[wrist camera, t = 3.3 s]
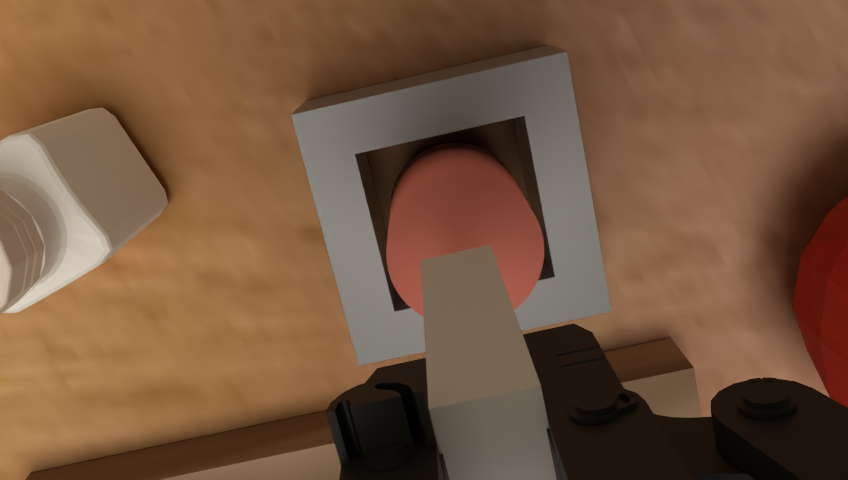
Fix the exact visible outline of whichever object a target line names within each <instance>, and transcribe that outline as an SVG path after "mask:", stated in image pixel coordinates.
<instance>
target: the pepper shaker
mask: <svg viewBox="0 0 848 480" xmlns="http://www.w3.org/2000/svg"><path fill="white" fill-rule="evenodd" d="M167 205H168V200H167V197H166V193H165V190H164V188H163V187H162V185H161V184H160V182H159V181H158V179H157V178H156V176H155V175H154V173H153V172H152V170H151V169H150V168H149V166H148V165H147V163H146V162H145V160H144V159H143V157H142V156H141V154H140V153H139V151H138V150H137V148H136V147H135V145H134V144H133V142H132V141H131V139H130V138H129V137H128V135H127V134H126V132H125V131H124V129H123V128H122V126H121V125H120V123H119V122H118V120H117V119H116V117H115V116H114V115H112V114H111V113H109V112H108V111H107V110H106V109H104V108H94V109H88V110H85V111H82V112H79V113H75V114H72V115H69V116H66V117H63V118H60V119H57V120H54V121H51V122H48V123H45V124H42V125H39V126H36V127H33V128H30V129H27V130H24V131H21V132H18V133H15V134H12V135H9V136H7V137H6V138H4V139H2V140H1V141H0V315H1V314H2V313H17V312H20V311H22V310H24V309H25V308H27V307H29V306H31V305H33V304H34V303H36V302H38V301H40V300H42V299H43V298H45V297H47V296H49V295H50V294H52V293H54V292H56V291H57V290H59V289H61V288H62V287H64V286H66V285H68V284H69V283H71V282H73V281H74V280H76V279H78V278H79V277H81V276H83V275H84V274H86V273H88V272H89V271H91V270H93V269H94V268H96V267H98V266H99V265H101V264H102V263H104V262H105V261H106V260H107V259H108V258H110V257H111V256H112V255H113V254H114V253H116V252H117V251H118V250H119V249H120V248H121V247H123V246H124V245H125V244H126V243H127V242H129V241H130V240H131V239H132V238H133V237H134V236H136V235H137V234H138V233H139V232H140V231H142V230H143V229H144V228H145V227H146V226H148V225H149V224H150V223H151V222H152V221H153V220H155V219H156V218H157V217H158V216H159V215H161V213H162V212H163V210H164V209H165V207H166V206H167Z"/></svg>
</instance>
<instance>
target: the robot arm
mask: <svg viewBox="0 0 848 480" xmlns="http://www.w3.org/2000/svg"><path fill="white" fill-rule="evenodd" d="M420 265H421V282H422V300H423V318H424V335H425V353H426V358H423V359H419V360H414V361H409V362H405V363H400V364H395V365H391V366H386V367H382V368H377V369H376V371H375V372H374V373H373V374H372V375H371V377H370V378H369V379H368V380H367V381H366V383H364V384H361V385H358V386H356V387H354V388H352V389H350V390H348V391H346V392H344V393H342V394H341V395H340V396H338V397H337V398H336V399H335V400H334V401H332V402H331V404H330V405H329V407H328V409H327V411H326V415H327V419H328V422H329V426H330V429H331V433H332V436H333V440H334V443H335V447H336V450H337V454H338V457H339V461H340V464H341V470H340V477H339V480H848V408H847V407H845V406H844V405H842V404H840V403H838V402H836V401H835V400H833V399H831V398H829V397H827V396H826V395H824V394H822V393H820V392H818V391H817V390H815V389H813V388H811V387H808V386H806V385H803V384H800V383H798V382H795V381H788V380H781V379H776V378H763V379H760V378H755V379H749V380H747V381H744V382H739V383H735V384H732V385H730V386H728V387H726V388H725V389H723V390H721V391H719V392H718V393H717V394H716V396H715V397H714V398H713V399H712V400H711V415H712V417H693V418H683V417H668V416H662V415H657V414H654V413H653V412H652V410H651V409H650V407H649V405H648V404H647V402H646V401H645V400H644V399H643V398H642V397H641V396H640V395H639V394H638V393H636V392H633V391H630V390H627V389H624V387H623V385H622V384H621V382H620V380H619V378H618V377H617V375H616V373H615V371H614V370H613V368H612V366H611V364H610V363H609V361H608V359H606V356H605V354H604V352H603V350H602V349H601V348H600V345H599V343H598V342H597V340H596V338H595V337H594V335H593V333H592V332H590V331H588V330H586V329H584V328H582V327H580V326H578V325H576V324H570V325H565V326H561V327H556V328H551V329H547V330H542V331H537V332H533V333H528V334H524V335H523V334H522V331H521V329H520V326H519V323H518V320H517V317H516V315H515V312H514V309H513V306H512V303H511V301H510V298H509V295H508V292H507V289H506V287H505V284H504V281H503V278H502V275H501V273H500V270H499V267H498V264H497V261H496V259H495V256H494V253H493V250H492V247H491V245H487V246H482V247H477V248H473V249H468V250H464V251H459V252H455V253H450V254H446V255H441V256H437V257H432V258H428V259H423V260H420Z"/></svg>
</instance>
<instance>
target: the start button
mask: <svg viewBox="0 0 848 480" xmlns="http://www.w3.org/2000/svg"><path fill="white" fill-rule="evenodd" d="M487 245H491V247H492V250H493V253H494V256H495V259H496V261H497V264H498V267H499V270H500V273H501V275H502V278H503V281H504V284H505V287H506V289H507V292H508V295H509V298H510V301H511V303H512V306H513V309H514V310H515V309H517V308H518V307H519V306H520V305H521V304H522V303H523V302H524V301H525V300H526V299H527V297H528V296H529V295H530V294H531V292H532V290H533V289H534V287H535V285H536V283H537V281H538V279H539V277H540V274H541V270H542V267H543V261H544V240H543V235H542V231H541V227H540V225H539V222H538V220H537V218H536V216H535V214H534V213H533V211H532V209H531V208H530V206H529V204H528V202H527V201H526V199H525V197H524V196H523V194H522V192H521V190H520V189H519V187H518V185H517V184H516V182H515V180H514V178H513V177H512V175H511V173H510V172H509V170H508V169H507V167H506V166H505V165H504V164H503V163H502V162H501V161H500V160H499V159H498V158H497V157H496V156H494V155H493V154H492V153H490V152H488V151H486V150H485V149H483V148H480V147H477V146H475V145H470V144H465V143H447V144H441V145H437V146H434V147H431V148H429V149H427V150H425V151H423V152H422V153H420V154H418V155H417V156H416V157H414V158H413V159H412V160H411V161H410V162H409V163H408V164H407V165H406V166H405V167H404V169H403V170H402V172H401V173H400V175H399V177H398V178H397V180H396V183H395V185H394V188H393V192H392V197H391V207H390V217H389V227H388V238H387V248H386V260H387V267H388V272H389V275H390V278H391V281H392V283H393V285H394V287H395V289H396V291H397V292H398V294H399V295H400V297H401V298H402V299H403V300H404V301H405V302H406V304H407V305H408V306H409V307H411V308H412V309H413V310H414V311H415V312H417V313H418V314H420V315H421V316H423V300H422V282H421V265H420V260H423V259H428V258H432V257H437V256H441V255H446V254H450V253H455V252H459V251H464V250H468V249H473V248H477V247H482V246H487Z"/></svg>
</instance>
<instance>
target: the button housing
mask: <svg viewBox="0 0 848 480" xmlns="http://www.w3.org/2000/svg"><path fill="white" fill-rule="evenodd" d="M291 117H292V121H293V125H294V128H295V132H296V136H297V139H298V143H299V147H300V150H301V154H302V158H303V162H304V165H305V169H306V173H307V176H308V180H309V184H310V187H311V191H312V195H313V198H314V202H315V206H316V210H317V213H318V217H319V221H320V224H321V228H322V232H323V235H324V239H325V243H326V247H327V250H328V254H329V258H330V261H331V265H332V269H333V272H334V276H335V280H336V284H337V287H338V291H339V295H340V298H341V302H342V306H343V309H344V313H345V317H346V320H347V324H348V328H349V332H350V335H351V339H352V343H353V346H354V350H355V354H356V357H357V361H358V365H359V366H360V365H364V364H369V363H374V362H378V361H383V360H388V359H392V358H397V357H402V356H406V355H411V354H416V353H420V352H425V335H424V318H423V316H421V315H420V314H418V313H417V312H415V311H414V310H413V309H412V308H411V307H409V306H408V305H407V304H406V302H405V301H404V300H403V299H402V298H401V297H400V295H399V294H398V292H397V291H396V289H395V287H394V285H393V283H392V281H391V278H390V275H389V272H388V267H387V260H386V248H387V235H386V231H385V227H384V223H383V219H382V215H381V211H380V207H379V203H378V199H377V195H376V191H375V186H374V182H373V178H372V174H371V170H370V166H369V162H368V158H367V154H366V152H367V151H371V150H375V149H380V148H384V147H389V146H393V145H398V144H402V143H406V142H411V141H415V140H420V139H424V138H428V137H433V136H437V135H442V134H446V133H451V132H455V131H459V130H464V129H468V128H473V127H477V126H482V125H486V124H490V123H495V122H499V121H504V120H508V119H512V118H513V119H514V124H515V129H516V134H517V140H518V145H519V150H520V155H521V160H522V165H523V170H524V176H525V181H526V186H527V191H528V196H529V201H530V207H531V209H532V211H533V213H534V214H535V216H536V218H537V220H538V222H539V225H540V227H541V231H542V235H543V240H544V261H543V267H542V270H541V274H540V277H539V279H538V281H537V283H536V285H535V287H534V289H533V290H532V292H531V294H530V295H529V296H528V297H527V299H526V300H525V301H524V302H523V303H522V304H521V305H520V306H519V307H518V308H517V309H515V310H514V312H515V315H516V317H517V320H518V323H519V326H520V329H521V331H523V330H528V329H533V328H537V327H542V326H547V325H551V324H556V323H561V322H565V321H570V320H575V319H579V318H584V317H589V316H593V315H598V314H603V313H607V312H612V311H611V306H610V300H609V294H608V288H607V282H606V276H605V271H604V265H603V259H602V253H601V247H600V241H599V235H598V230H597V224H596V218H595V212H594V206H593V200H592V195H591V189H590V183H589V177H588V171H587V165H586V160H585V154H584V148H583V142H582V136H581V130H580V124H579V119H578V113H577V107H576V101H575V95H574V89H573V84H572V78H571V72H570V66H569V60H568V54H567V51H564V50H560V49H557V48H554V47H551V46H548V45H546V46H542V47H538V48H533V49H529V50H525V51H520V52H516V53H512V54H507V55H503V56H498V57H494V58H490V59H485V60H481V61H477V62H472V63H468V64H464V65H459V66H455V67H451V68H446V69H442V70H438V71H433V72H429V73H425V74H420V75H416V76H412V77H407V78H403V79H399V80H394V81H390V82H386V83H381V84H377V85H373V86H368V87H364V88H359V89H355V90H351V91H346V92H342V93H338V94H333V95H329V96H325V97H320V98H316V99H312V100H307V101H305V102H304V103H303V104H302V105H301V106H300V107H299V108H298V109H297V110H296V111H295V112H294V113H292V114H291Z"/></svg>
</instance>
